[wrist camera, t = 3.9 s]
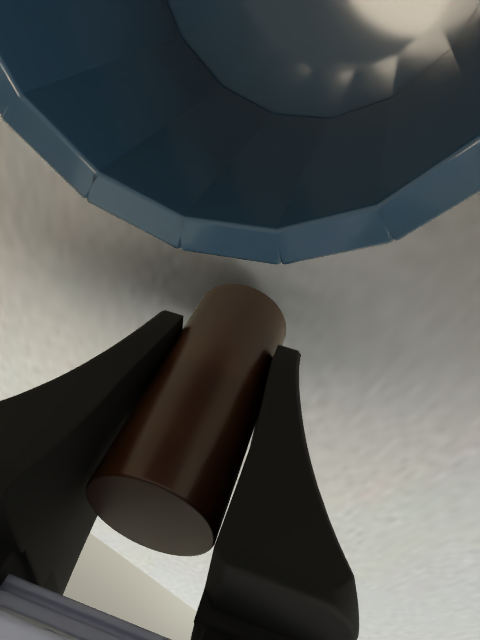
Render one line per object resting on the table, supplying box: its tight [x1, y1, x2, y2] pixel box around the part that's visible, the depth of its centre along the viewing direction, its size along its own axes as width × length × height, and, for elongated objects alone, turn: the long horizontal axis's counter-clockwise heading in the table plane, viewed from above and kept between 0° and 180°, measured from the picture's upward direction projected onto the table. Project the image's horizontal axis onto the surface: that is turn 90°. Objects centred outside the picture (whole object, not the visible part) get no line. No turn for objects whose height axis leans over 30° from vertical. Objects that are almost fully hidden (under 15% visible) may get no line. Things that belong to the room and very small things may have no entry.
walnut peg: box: [86, 284, 286, 556], centre depth 12 cm, size 3×3×7 cm
